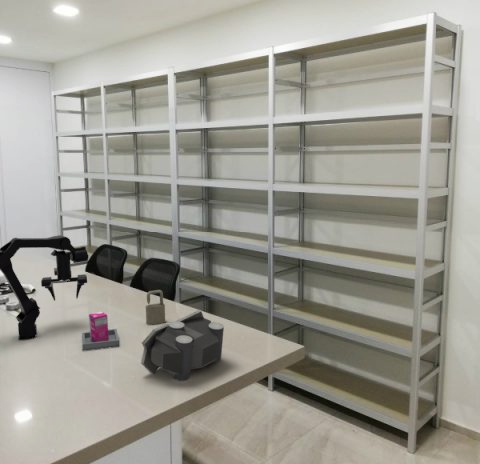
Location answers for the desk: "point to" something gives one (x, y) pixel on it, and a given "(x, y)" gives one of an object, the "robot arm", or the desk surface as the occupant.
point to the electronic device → (183, 345)
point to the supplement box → (98, 327)
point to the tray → (112, 342)
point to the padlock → (155, 309)
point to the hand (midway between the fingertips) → (65, 299)
